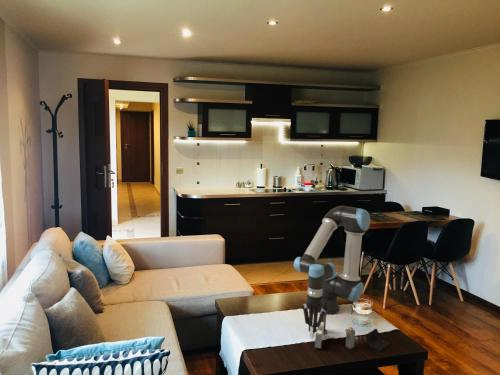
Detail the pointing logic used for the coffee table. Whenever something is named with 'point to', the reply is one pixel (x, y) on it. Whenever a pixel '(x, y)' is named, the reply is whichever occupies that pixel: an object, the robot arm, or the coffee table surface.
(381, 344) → the black angled block
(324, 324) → the hinge post
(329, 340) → the coffee table surface
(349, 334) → the stile post
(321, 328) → the gate
